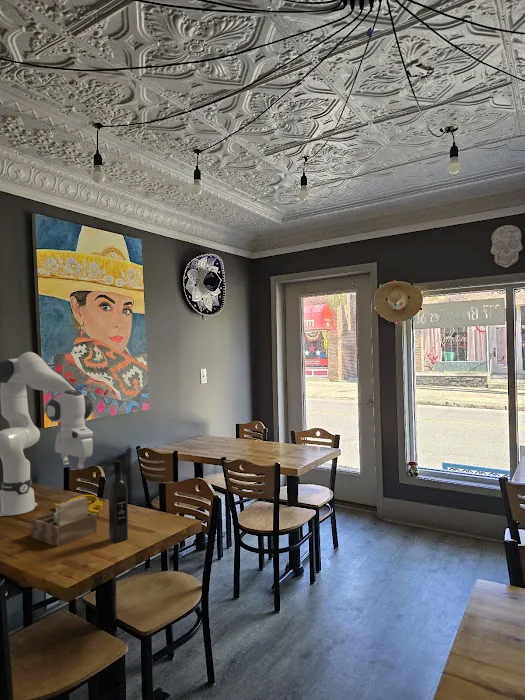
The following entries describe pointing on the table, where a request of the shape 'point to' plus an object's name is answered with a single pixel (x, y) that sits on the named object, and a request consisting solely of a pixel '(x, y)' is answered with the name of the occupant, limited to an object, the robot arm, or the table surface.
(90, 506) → the decorative art
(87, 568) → the table surface
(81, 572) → the table surface
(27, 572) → the table surface
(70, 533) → the box
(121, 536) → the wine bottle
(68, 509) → the plywood sheet
